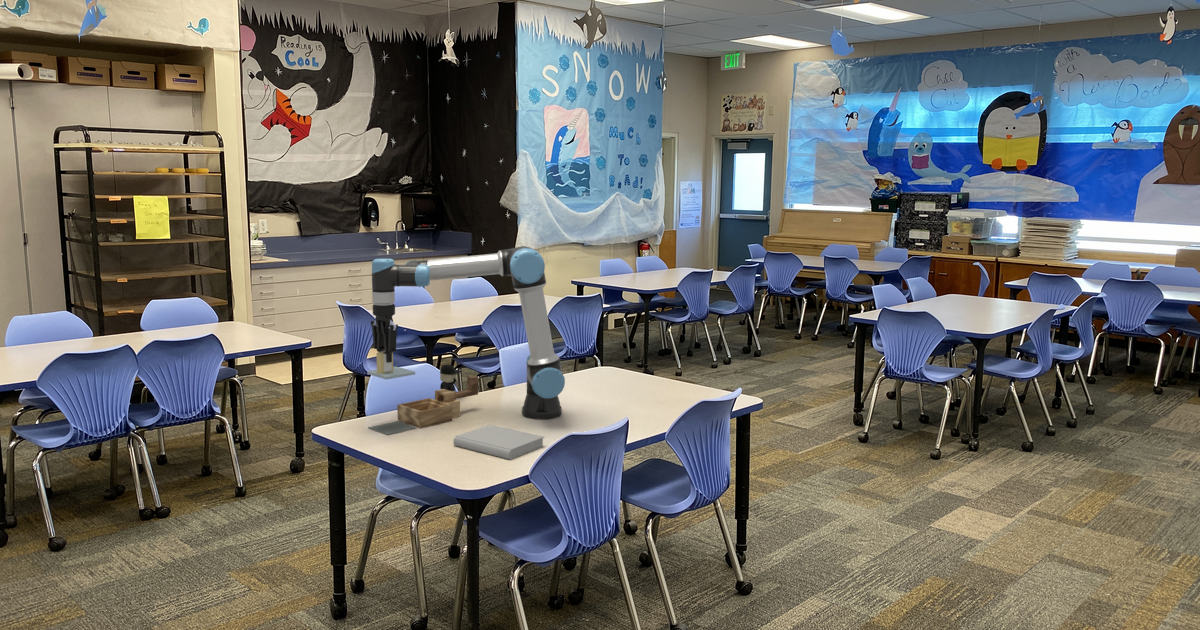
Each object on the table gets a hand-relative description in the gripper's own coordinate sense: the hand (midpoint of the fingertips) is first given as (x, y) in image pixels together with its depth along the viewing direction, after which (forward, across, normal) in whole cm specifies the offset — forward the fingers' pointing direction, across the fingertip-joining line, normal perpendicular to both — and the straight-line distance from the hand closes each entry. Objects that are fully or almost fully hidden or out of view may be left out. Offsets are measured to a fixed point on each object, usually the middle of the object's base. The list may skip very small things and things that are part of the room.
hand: (385, 370), depth 299 cm
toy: (+22, +17, -42) cm, 50 cm away
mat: (+21, 0, -2) cm, 21 cm away
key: (+15, 0, -33) cm, 36 cm away
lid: (+2, 0, -2) cm, 3 cm away
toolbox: (+21, 0, -19) cm, 29 cm away
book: (+22, -42, -16) cm, 50 cm away
